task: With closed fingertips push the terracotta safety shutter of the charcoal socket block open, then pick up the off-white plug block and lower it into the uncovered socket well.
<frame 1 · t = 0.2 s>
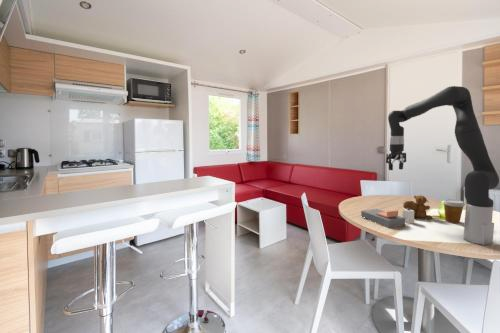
hand: (395, 169, 155), 29 cm above the table, fingers open, 8 cm apart
shutter: (386, 212, 144), point 6 cm above the table, slide at 0.0 cm
stuffed squirrel: (416, 217, 153), on the table
disposable coffee cup: (452, 221, 143), on the table
plug: (408, 221, 145), on the table
socket block: (381, 220, 147), on the table
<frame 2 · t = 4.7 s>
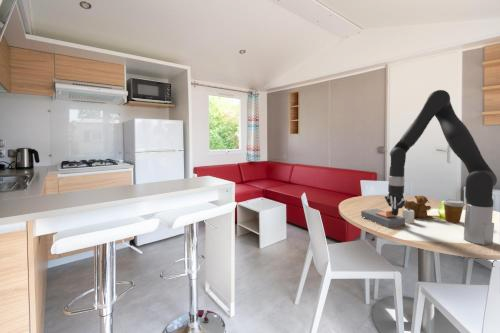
hand: (394, 214, 139), 6 cm above the table, fingers closed
shutter: (386, 212, 144), point 6 cm above the table, slide at 0.5 cm, touching gripper
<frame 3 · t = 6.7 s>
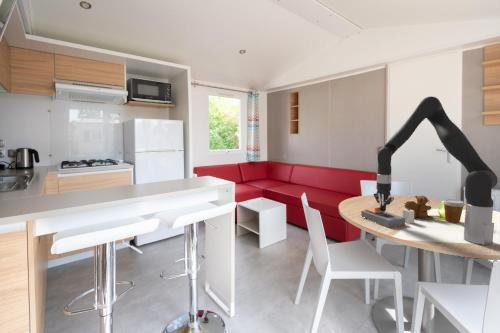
hand: (382, 211, 146), 6 cm above the table, fingers closed
shutter: (374, 208, 152), point 6 cm above the table, slide at 8.7 cm, touching gripper
everything else where it was.
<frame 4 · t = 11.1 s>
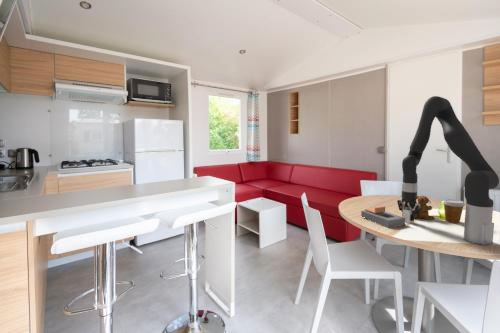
hand: (408, 219, 144), 1 cm above the table, fingers closed on plug, 4 cm apart
shutter: (374, 208, 152), point 6 cm above the table, slide at 8.7 cm
plug: (408, 221, 145), on the table, touching gripper
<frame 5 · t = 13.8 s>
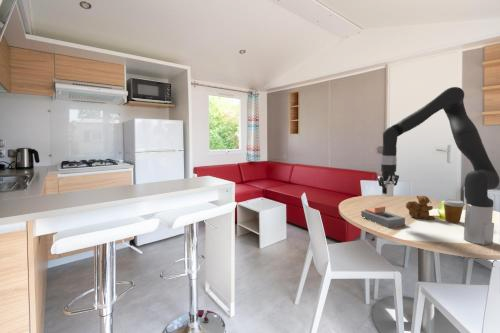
hand: (387, 193, 143), 17 cm above the table, fingers closed on plug, 4 cm apart
plug: (387, 195, 143), point 16 cm above the table, touching gripper
when the fingers open (4 cm above the table, at t = 16.5 s): plug drops 2 cm, resting on socket block.
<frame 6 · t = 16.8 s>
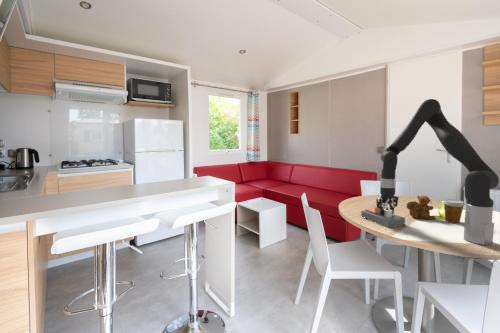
hand: (386, 214, 144), 5 cm above the table, fingers open, 6 cm apart
plug: (386, 221, 144), point 1 cm above the table, touching socket block
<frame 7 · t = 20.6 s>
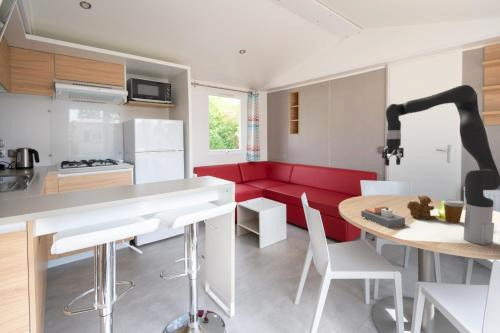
hand: (392, 165, 151), 32 cm above the table, fingers open, 8 cm apart
at the end: shutter slide at 8.7 cm; plug 0.3 cm from the target spot on the socket block, point 0.6 cm above the socket block's base; the gripper is holding nothing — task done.
